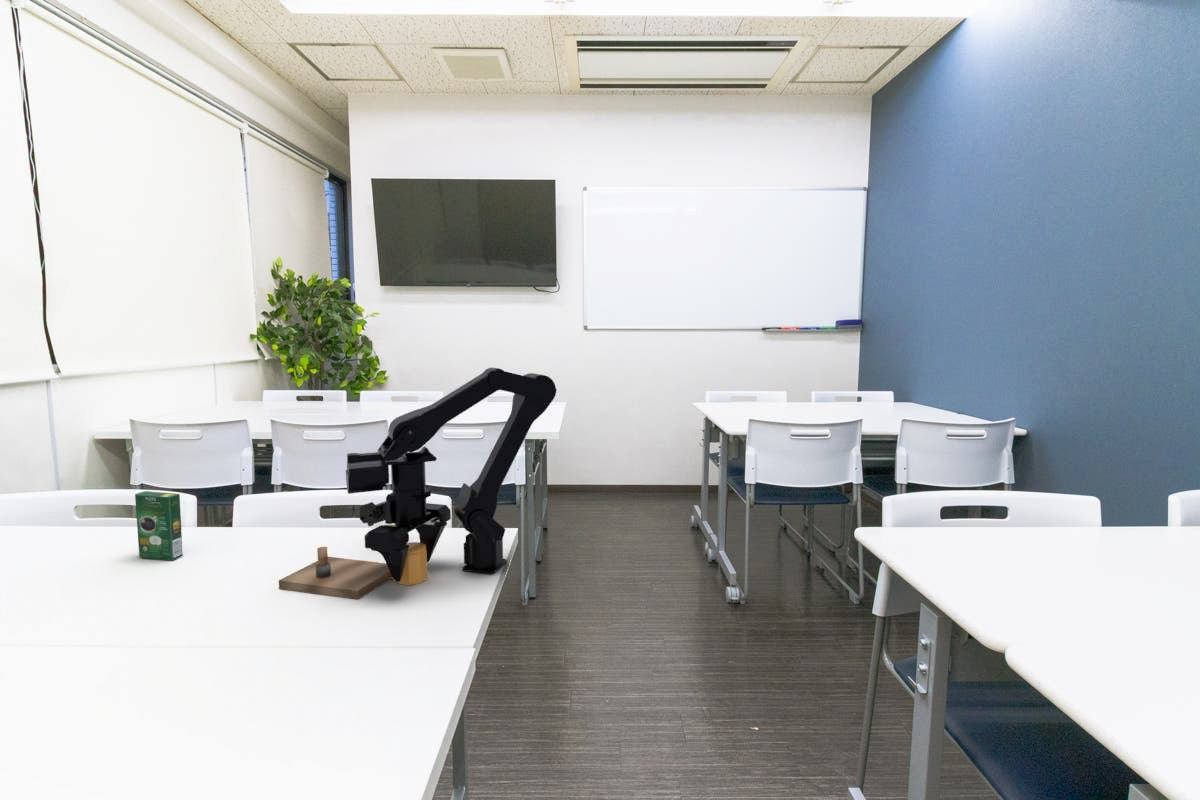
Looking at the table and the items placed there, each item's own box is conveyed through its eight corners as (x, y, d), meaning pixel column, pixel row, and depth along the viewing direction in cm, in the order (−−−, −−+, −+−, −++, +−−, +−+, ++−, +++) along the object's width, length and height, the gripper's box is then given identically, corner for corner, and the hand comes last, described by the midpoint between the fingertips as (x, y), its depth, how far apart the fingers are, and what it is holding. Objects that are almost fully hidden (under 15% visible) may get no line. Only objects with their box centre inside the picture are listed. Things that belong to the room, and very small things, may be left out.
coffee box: (185, 556, 124) (180, 492, 122) (173, 561, 121) (168, 495, 120) (151, 553, 125) (146, 490, 124) (138, 558, 123) (132, 493, 121)
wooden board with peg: (399, 572, 115) (398, 538, 115) (357, 599, 104) (355, 562, 103) (326, 563, 120) (325, 531, 119) (279, 588, 108) (276, 552, 107)
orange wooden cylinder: (432, 575, 114) (431, 543, 113) (416, 586, 109) (415, 553, 108) (407, 572, 115) (406, 541, 115) (391, 583, 111) (390, 550, 110)
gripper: (400, 472, 122) (402, 549, 123) (335, 497, 104) (339, 586, 105) (450, 476, 119) (453, 555, 120) (393, 502, 101) (396, 594, 102)
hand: (412, 571), depth 112 cm, fingers open, 9 cm apart
